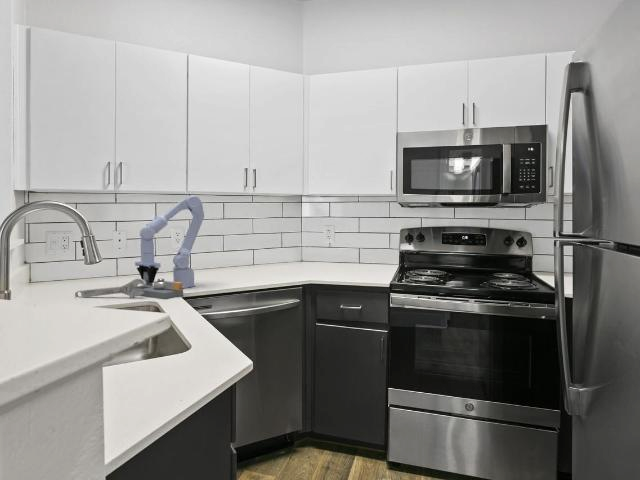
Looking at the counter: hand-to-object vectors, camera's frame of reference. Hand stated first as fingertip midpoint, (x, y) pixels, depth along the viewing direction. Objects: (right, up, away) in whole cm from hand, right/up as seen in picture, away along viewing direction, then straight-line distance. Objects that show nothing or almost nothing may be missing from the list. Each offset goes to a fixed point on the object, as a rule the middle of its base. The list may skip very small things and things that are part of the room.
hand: (148, 282), depth 215 cm
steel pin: (0, -2, 0) cm, 2 cm away
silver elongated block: (+14, -1, -14) cm, 20 cm away
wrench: (-8, -5, -20) cm, 22 cm away
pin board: (+8, -4, -13) cm, 16 cm away
